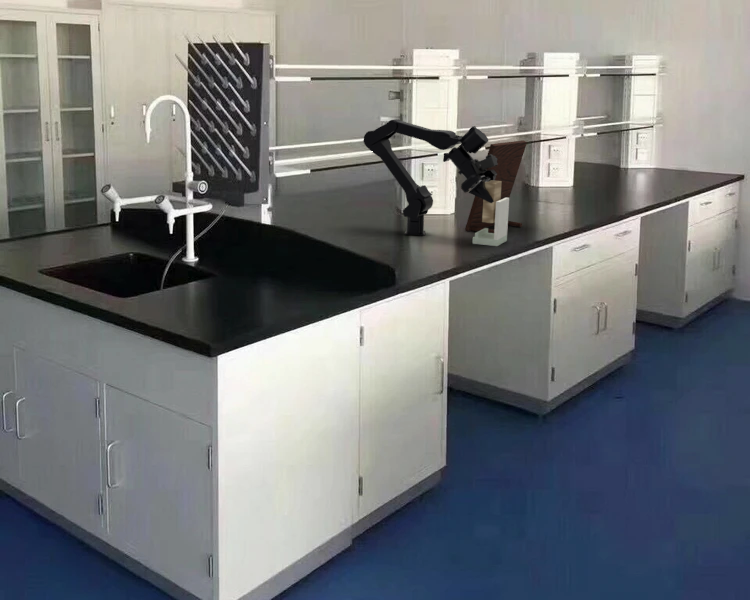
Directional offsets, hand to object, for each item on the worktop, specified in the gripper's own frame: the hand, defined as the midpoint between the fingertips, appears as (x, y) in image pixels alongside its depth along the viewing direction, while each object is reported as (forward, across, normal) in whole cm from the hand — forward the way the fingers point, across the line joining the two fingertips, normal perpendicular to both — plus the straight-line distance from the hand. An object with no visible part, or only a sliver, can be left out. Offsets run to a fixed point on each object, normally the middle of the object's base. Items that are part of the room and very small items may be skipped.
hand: (496, 200), depth 286 cm
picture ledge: (+8, 0, +11) cm, 14 cm away
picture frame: (+4, +23, +15) cm, 28 cm away
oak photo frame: (+4, 0, +6) cm, 7 cm away
